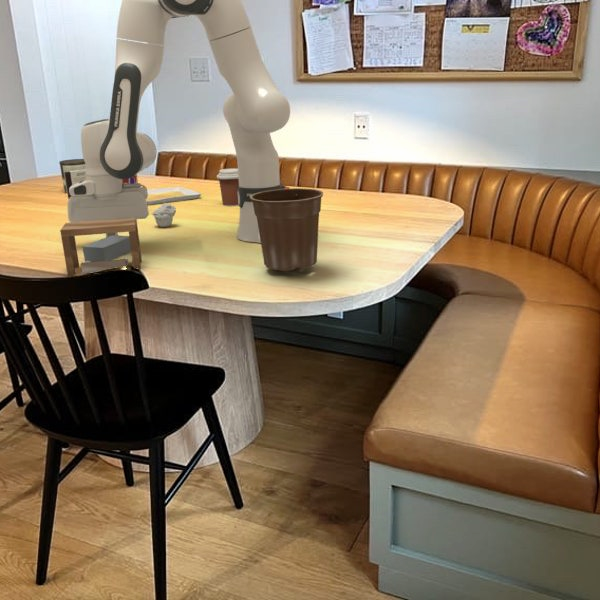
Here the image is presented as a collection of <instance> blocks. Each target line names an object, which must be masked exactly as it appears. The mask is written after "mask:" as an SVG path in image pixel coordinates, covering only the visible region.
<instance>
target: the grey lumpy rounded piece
mask: <svg viewBox="0 0 600 600" xmlns="http://www.w3.org/2000/svg"><path fill="white" fill-rule="evenodd" d="M176 209H177V207H175V206H174V205H171V204H170V203H169V202H168V203H161V205H160V206H159V207H158V208H156V209H155V210H154V211H152V213H151V215H152V216H153V217H154V220H155V223H156V224H157V226H158V227H160V228H168V227H170V226H171V225H172V223H173V220H174V218H173V217H175V215H176V211H177V210H176Z"/></svg>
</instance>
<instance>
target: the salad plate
mask: <svg viewBox="0 0 600 600" xmlns="http://www.w3.org/2000/svg"><path fill="white" fill-rule="evenodd" d="M169 192H179V193H180V194H182V195H178V196H172V197H171V196H169V197H163V198H158V199H154V200H146V202H147V206H152V205H153V206H154V205H160V204H161V205H162V204H165V203H168V204H169V203H174V202H181V201H191V200H196V199H199V198H200V197H201V196H202V193H201V192H198V191H195V190H192V189H189V188H185V187H181V186H174V187H173V186H172V187H162V188H154V189H153V188H152V189H147V193H148V195H155V194H163V193H169Z"/></svg>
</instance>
